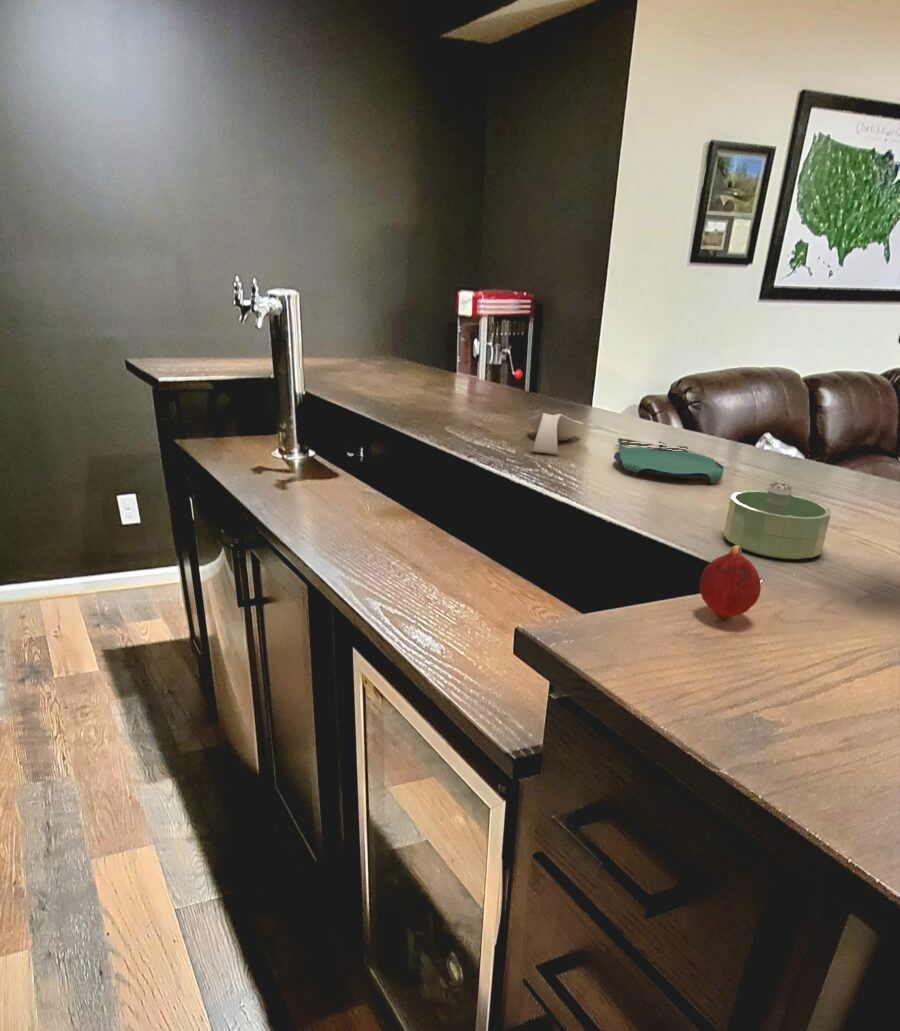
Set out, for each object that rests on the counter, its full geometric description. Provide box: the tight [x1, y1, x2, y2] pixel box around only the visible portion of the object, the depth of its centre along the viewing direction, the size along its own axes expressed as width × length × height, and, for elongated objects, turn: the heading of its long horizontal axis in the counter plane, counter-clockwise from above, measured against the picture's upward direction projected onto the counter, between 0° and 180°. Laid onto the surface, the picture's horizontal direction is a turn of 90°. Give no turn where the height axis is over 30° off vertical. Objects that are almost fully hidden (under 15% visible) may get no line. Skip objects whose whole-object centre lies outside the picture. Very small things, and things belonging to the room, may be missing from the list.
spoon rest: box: [528, 412, 584, 455], centre depth 152 cm, size 24×12×7 cm, turn 167°
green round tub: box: [723, 490, 831, 560], centre depth 97 cm, size 12×12×6 cm
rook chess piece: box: [765, 481, 794, 516], centre depth 97 cm, size 4×4×8 cm
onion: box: [699, 544, 762, 620], centre depth 74 cm, size 6×6×8 cm
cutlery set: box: [613, 437, 725, 485], centre depth 140 cm, size 20×30×2 cm, turn 171°
